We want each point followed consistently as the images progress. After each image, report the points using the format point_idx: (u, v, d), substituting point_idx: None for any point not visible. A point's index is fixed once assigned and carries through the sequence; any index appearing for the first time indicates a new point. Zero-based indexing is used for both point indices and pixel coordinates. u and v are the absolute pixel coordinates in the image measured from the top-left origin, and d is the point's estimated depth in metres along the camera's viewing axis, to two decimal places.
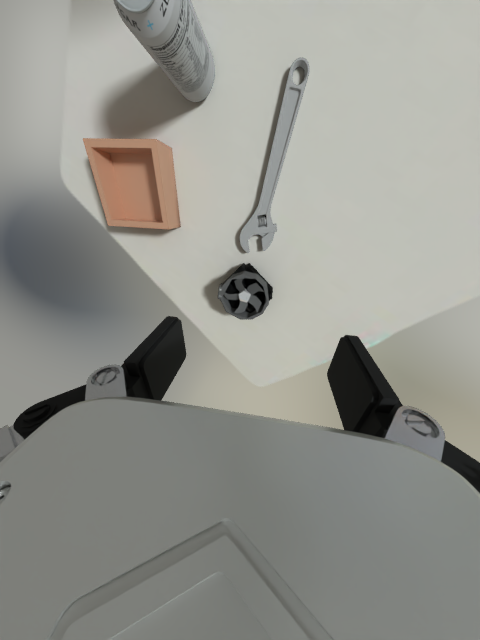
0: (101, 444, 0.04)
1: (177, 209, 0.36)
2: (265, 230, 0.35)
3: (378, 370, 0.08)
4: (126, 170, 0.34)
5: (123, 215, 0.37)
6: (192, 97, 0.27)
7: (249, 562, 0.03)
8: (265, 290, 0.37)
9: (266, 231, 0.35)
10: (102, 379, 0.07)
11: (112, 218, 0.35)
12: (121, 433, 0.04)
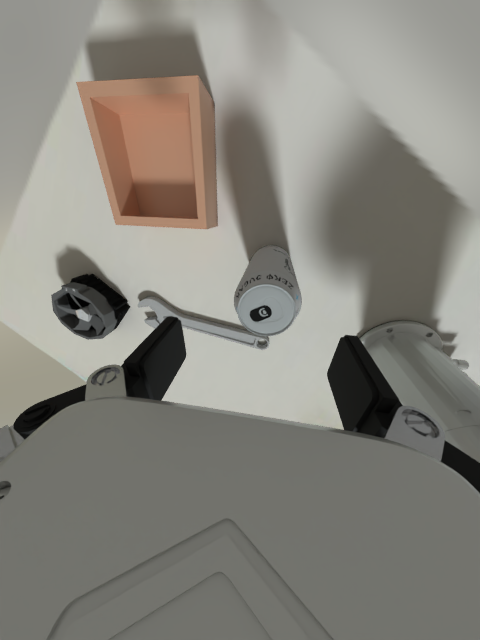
0: (101, 444, 0.04)
1: None
2: None
3: (378, 370, 0.08)
4: (185, 142, 0.22)
5: (120, 113, 0.21)
6: None
7: (249, 562, 0.03)
8: (99, 336, 0.34)
9: None
10: (102, 379, 0.07)
11: (94, 98, 0.18)
12: (121, 433, 0.04)
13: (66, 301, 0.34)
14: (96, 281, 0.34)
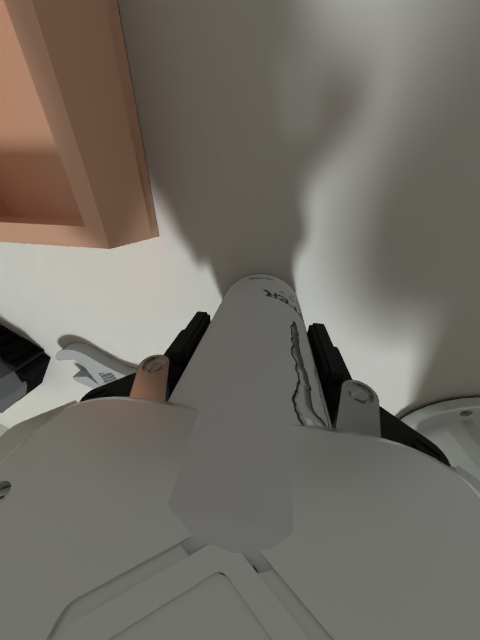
0: (101, 444, 0.04)
1: None
2: (99, 381, 0.23)
3: (334, 351, 0.08)
4: None
5: None
6: None
7: None
8: None
9: (98, 382, 0.23)
10: (151, 367, 0.08)
11: None
12: (121, 433, 0.04)
13: None
14: None
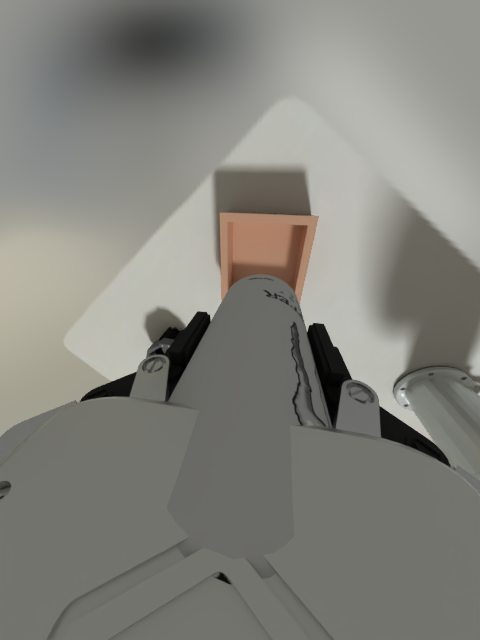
0: (101, 444, 0.04)
1: None
2: None
3: (334, 351, 0.09)
4: (284, 240, 0.28)
5: None
6: None
7: None
8: None
9: None
10: (151, 367, 0.08)
11: (229, 221, 0.24)
12: (121, 433, 0.04)
13: (154, 351, 0.41)
14: None
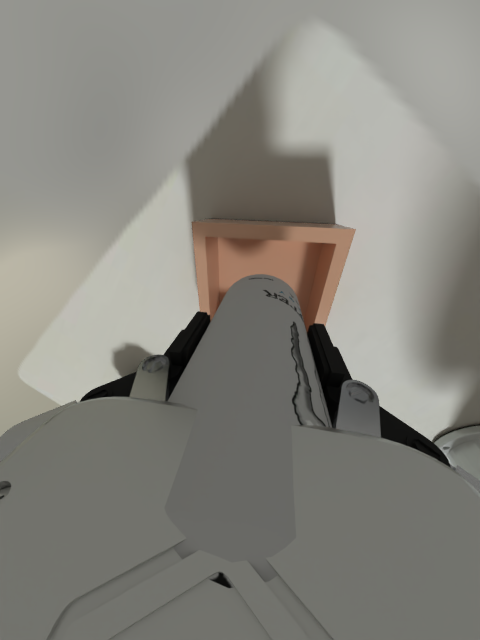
0: (101, 444, 0.04)
1: None
2: None
3: (334, 351, 0.08)
4: (293, 261, 0.19)
5: None
6: None
7: None
8: None
9: None
10: (151, 367, 0.08)
11: None
12: (121, 433, 0.04)
13: None
14: None
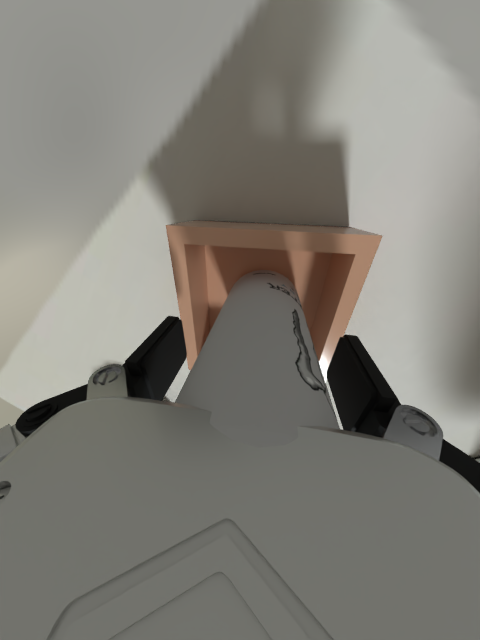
0: (101, 444, 0.04)
1: None
2: None
3: (377, 369, 0.08)
4: (297, 272, 0.15)
5: None
6: None
7: (249, 562, 0.03)
8: None
9: None
10: (104, 379, 0.07)
11: None
12: (121, 433, 0.04)
13: None
14: None
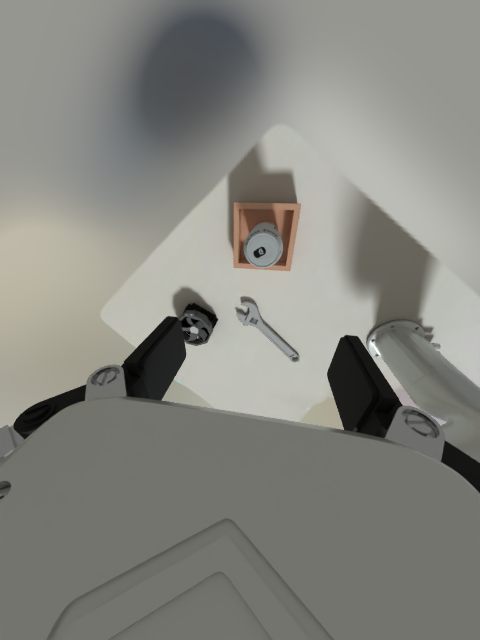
0: (101, 444, 0.04)
1: None
2: (247, 320, 0.51)
3: (378, 370, 0.08)
4: (278, 222, 0.38)
5: (244, 208, 0.38)
6: None
7: (249, 562, 0.03)
8: (204, 342, 0.52)
9: (246, 320, 0.52)
10: (102, 379, 0.07)
11: (240, 208, 0.35)
12: (121, 433, 0.04)
13: None
14: (197, 307, 0.52)
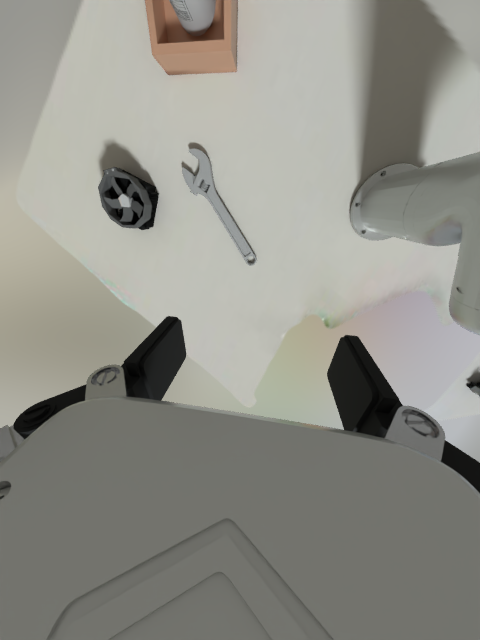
0: (101, 444, 0.04)
1: (183, 72, 0.32)
2: (196, 183, 0.39)
3: (378, 370, 0.08)
4: None
5: None
6: None
7: (249, 562, 0.03)
8: (141, 219, 0.40)
9: (195, 183, 0.39)
10: (102, 379, 0.07)
11: None
12: (121, 433, 0.04)
13: (110, 199, 0.41)
14: (128, 173, 0.40)
